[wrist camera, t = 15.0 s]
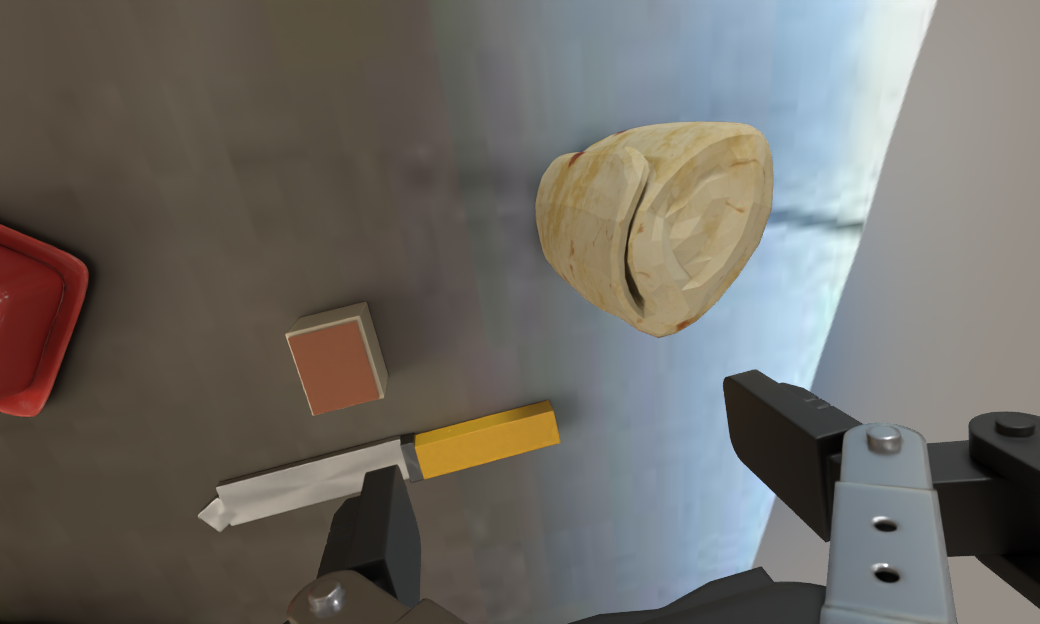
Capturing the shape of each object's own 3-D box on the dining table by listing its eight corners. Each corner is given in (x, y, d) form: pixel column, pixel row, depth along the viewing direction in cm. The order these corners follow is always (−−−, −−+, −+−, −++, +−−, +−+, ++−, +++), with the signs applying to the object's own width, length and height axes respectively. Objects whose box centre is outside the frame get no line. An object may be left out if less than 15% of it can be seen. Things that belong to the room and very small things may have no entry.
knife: (209, 530, 43) (198, 547, 41) (192, 489, 42) (180, 504, 40) (556, 437, 45) (562, 449, 43) (547, 395, 44) (552, 406, 42)
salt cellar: (323, 393, 42) (311, 419, 38) (298, 317, 41) (282, 336, 36) (388, 376, 42) (383, 401, 38) (366, 301, 41) (358, 317, 37)
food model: (586, 283, 43) (714, 382, 24) (502, 243, 41) (565, 313, 22) (652, 156, 41) (845, 150, 22) (567, 109, 40) (695, 59, 21)
